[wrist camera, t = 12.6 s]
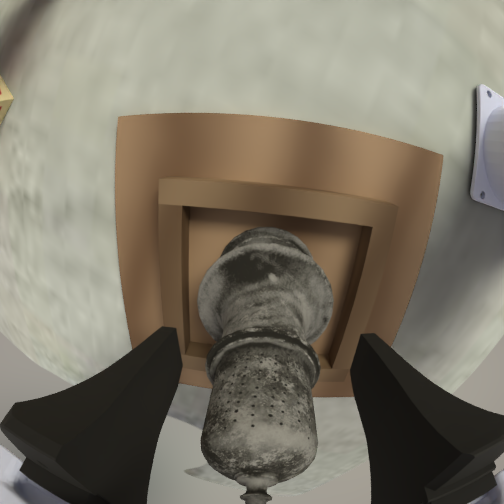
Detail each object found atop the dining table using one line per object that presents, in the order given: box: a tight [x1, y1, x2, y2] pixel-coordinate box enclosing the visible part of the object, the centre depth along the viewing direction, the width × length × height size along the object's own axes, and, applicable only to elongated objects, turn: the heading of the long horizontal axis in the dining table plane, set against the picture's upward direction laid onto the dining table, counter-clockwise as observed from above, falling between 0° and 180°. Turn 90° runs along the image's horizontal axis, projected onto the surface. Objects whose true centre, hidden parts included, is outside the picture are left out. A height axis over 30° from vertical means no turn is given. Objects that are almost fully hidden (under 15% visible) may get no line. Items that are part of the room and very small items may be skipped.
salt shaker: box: [197, 227, 334, 504], centre depth 9 cm, size 6×6×12 cm
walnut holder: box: [115, 113, 443, 397], centre depth 15 cm, size 18×18×2 cm
